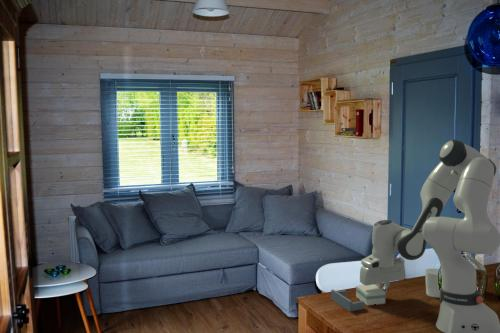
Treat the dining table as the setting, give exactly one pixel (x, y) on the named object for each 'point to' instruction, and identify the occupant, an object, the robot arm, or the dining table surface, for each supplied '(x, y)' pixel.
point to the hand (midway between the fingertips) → (382, 292)
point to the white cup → (432, 283)
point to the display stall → (346, 301)
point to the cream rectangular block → (370, 294)
